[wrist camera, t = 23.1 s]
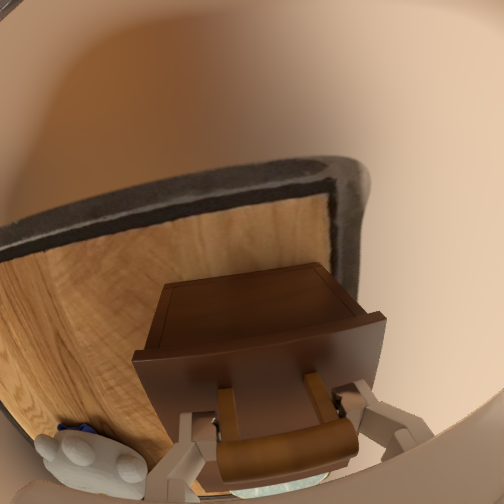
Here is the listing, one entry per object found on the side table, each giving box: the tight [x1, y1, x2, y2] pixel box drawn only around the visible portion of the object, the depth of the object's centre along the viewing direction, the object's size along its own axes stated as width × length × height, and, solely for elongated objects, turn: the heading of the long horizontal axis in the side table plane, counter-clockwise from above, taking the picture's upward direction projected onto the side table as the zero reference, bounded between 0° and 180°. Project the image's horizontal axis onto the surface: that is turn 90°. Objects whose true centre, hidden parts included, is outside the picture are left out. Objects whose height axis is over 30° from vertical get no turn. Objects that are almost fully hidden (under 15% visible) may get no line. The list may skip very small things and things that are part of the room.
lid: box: [132, 311, 387, 493], centre depth 12 cm, size 15×12×6 cm
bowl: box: [230, 472, 329, 499], centre depth 25 cm, size 11×12×6 cm
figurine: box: [34, 423, 148, 501], centre depth 23 cm, size 17×8×20 cm
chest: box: [144, 262, 367, 350], centre depth 19 cm, size 15×12×9 cm
